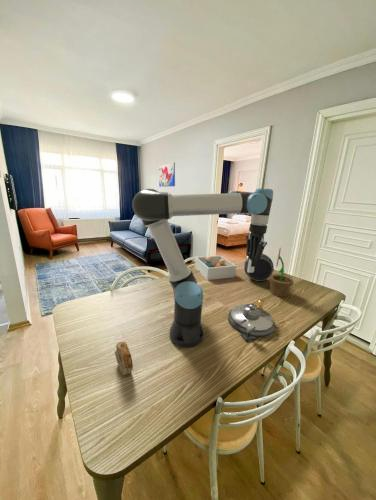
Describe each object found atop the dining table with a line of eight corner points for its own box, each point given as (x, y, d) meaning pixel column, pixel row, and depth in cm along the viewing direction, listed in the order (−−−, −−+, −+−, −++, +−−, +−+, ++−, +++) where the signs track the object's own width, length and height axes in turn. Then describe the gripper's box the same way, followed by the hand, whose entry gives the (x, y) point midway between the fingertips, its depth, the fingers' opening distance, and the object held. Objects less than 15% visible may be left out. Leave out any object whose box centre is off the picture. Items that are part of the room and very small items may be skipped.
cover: (258, 322, 98) (259, 311, 96) (241, 317, 101) (242, 306, 100) (260, 313, 105) (262, 303, 103) (244, 309, 108) (245, 299, 107)
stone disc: (135, 376, 71) (134, 353, 68) (124, 382, 69) (123, 357, 66) (124, 356, 79) (123, 334, 76) (114, 360, 77) (113, 338, 74)
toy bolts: (225, 268, 172) (227, 254, 168) (225, 277, 155) (227, 261, 152) (203, 266, 174) (205, 252, 171) (201, 274, 158) (203, 258, 154)
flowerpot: (267, 286, 145) (275, 244, 136) (290, 291, 139) (300, 248, 130) (265, 294, 132) (273, 249, 123) (290, 301, 126) (300, 254, 118)
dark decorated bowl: (272, 284, 147) (277, 257, 141) (243, 280, 151) (246, 254, 145) (269, 278, 157) (274, 253, 151) (242, 275, 161) (245, 250, 155)
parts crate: (207, 280, 148) (208, 268, 146) (194, 267, 170) (195, 257, 167) (234, 276, 156) (236, 265, 154) (219, 265, 178) (220, 255, 175)
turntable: (260, 338, 90) (262, 325, 88) (222, 316, 103) (224, 305, 101) (279, 319, 103) (282, 308, 101) (244, 303, 117) (245, 292, 115)
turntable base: (244, 341, 90) (245, 338, 90) (220, 313, 110) (220, 309, 109) (284, 332, 98) (285, 328, 97) (254, 307, 118) (255, 304, 117)
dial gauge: (245, 341, 91) (248, 327, 88) (240, 335, 94) (242, 321, 92) (255, 339, 92) (257, 324, 90) (249, 333, 96) (252, 319, 94)
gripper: (275, 226, 90) (265, 277, 97) (257, 221, 102) (249, 266, 108) (260, 226, 87) (251, 278, 94) (243, 221, 99) (236, 267, 106)
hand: (250, 271), depth 101 cm, fingers closed
